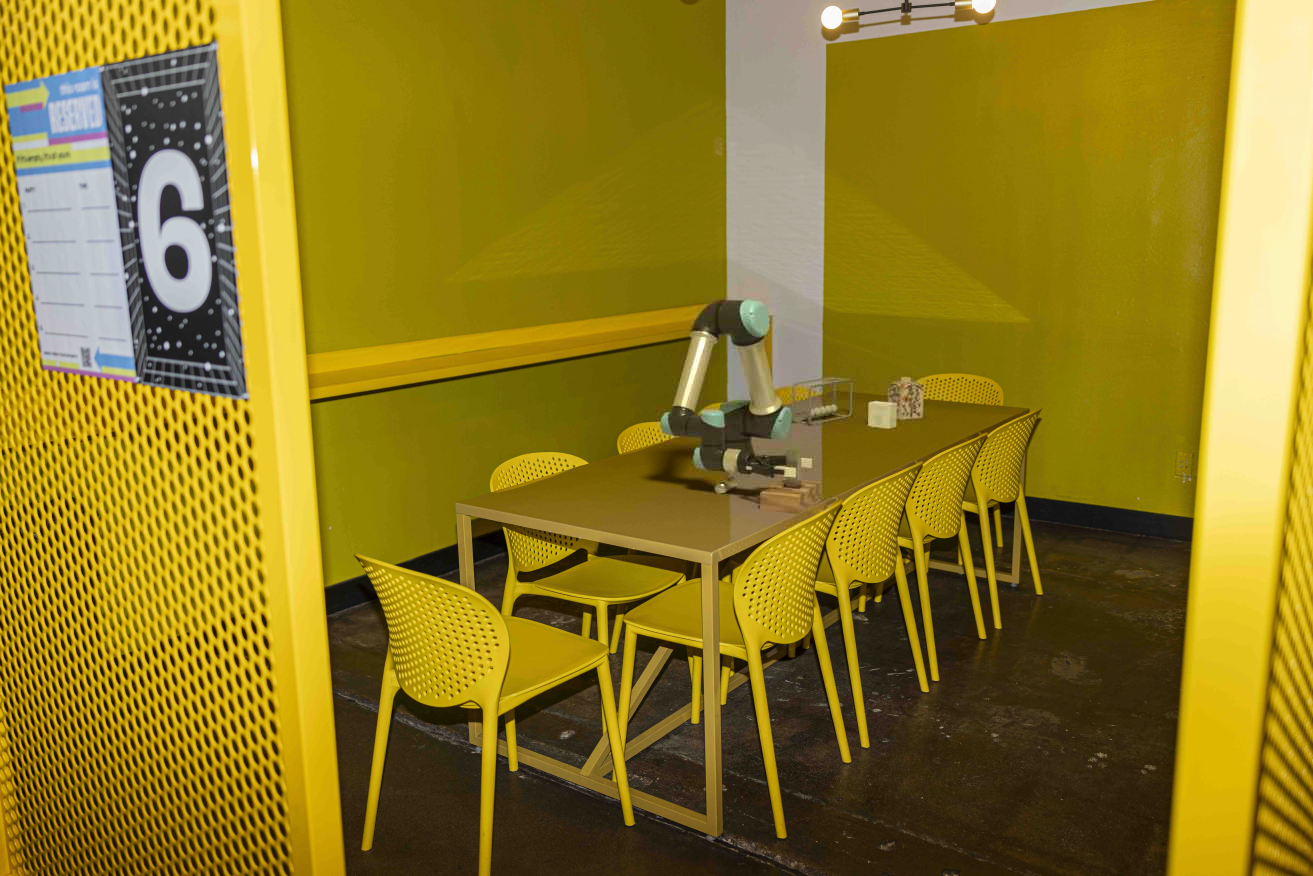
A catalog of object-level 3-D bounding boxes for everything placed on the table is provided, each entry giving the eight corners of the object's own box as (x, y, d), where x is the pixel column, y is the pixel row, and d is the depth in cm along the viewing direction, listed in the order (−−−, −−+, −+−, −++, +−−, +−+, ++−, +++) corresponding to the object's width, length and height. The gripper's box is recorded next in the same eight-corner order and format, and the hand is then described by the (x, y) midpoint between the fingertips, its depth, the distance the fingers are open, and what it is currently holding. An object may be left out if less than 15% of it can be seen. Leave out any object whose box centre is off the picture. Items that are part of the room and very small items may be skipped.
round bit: (736, 488, 323) (726, 485, 325) (738, 478, 322) (729, 475, 324) (723, 496, 315) (713, 492, 316) (725, 485, 314) (715, 481, 315)
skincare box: (896, 426, 418) (897, 402, 416) (889, 429, 413) (890, 404, 411) (874, 424, 425) (875, 400, 423) (867, 426, 420) (868, 402, 418)
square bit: (790, 497, 307) (790, 447, 303) (800, 499, 305) (801, 448, 302) (785, 500, 303) (786, 450, 300) (796, 502, 302) (797, 451, 299)
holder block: (784, 493, 314) (785, 478, 313) (820, 497, 308) (820, 482, 307) (760, 508, 297) (760, 492, 296) (797, 513, 291) (797, 497, 290)
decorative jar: (886, 416, 443) (887, 376, 439) (909, 414, 446) (910, 375, 443) (900, 420, 432) (901, 380, 428) (923, 418, 435) (925, 378, 432)
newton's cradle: (809, 426, 424) (810, 385, 420) (791, 423, 431) (791, 383, 428) (852, 417, 443) (853, 378, 439) (834, 414, 451) (834, 376, 447)
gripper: (756, 465, 322) (817, 471, 312) (723, 481, 301) (788, 489, 291) (756, 442, 321) (817, 448, 310) (723, 458, 299) (788, 464, 289)
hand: (803, 468), depth 300 cm, fingers open, 13 cm apart
